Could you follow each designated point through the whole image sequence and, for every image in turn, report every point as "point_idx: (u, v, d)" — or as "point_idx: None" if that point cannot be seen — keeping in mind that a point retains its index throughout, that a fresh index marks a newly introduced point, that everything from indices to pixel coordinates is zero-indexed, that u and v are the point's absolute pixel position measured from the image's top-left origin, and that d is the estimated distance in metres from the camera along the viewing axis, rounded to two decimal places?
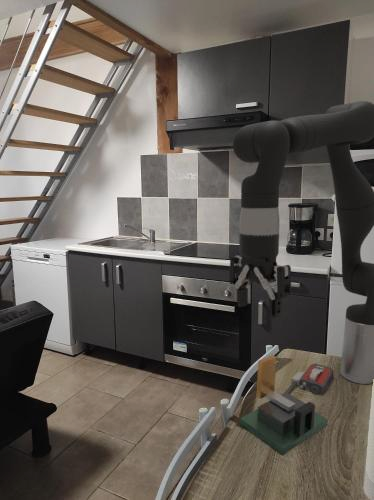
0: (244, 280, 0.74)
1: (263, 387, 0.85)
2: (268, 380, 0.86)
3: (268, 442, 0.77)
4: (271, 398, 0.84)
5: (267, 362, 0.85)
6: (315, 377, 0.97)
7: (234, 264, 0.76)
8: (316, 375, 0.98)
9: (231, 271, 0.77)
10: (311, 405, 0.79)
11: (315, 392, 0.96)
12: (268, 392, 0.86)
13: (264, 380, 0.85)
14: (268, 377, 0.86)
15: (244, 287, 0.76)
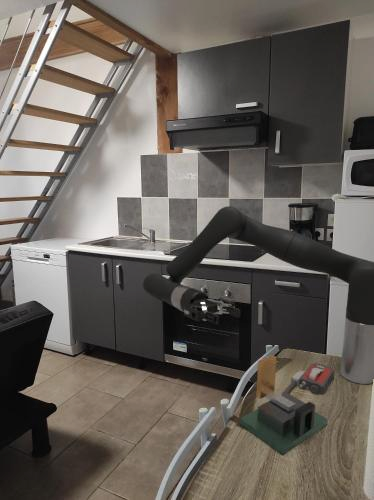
0: (220, 311, 1.01)
1: (263, 387, 0.85)
2: (268, 380, 0.86)
3: (268, 442, 0.77)
4: (271, 398, 0.84)
5: (267, 362, 0.85)
6: (315, 376, 0.98)
7: None
8: (316, 375, 0.98)
9: None
10: (311, 405, 0.79)
11: (314, 391, 0.96)
12: (268, 392, 0.86)
13: (264, 380, 0.85)
14: (268, 377, 0.86)
15: (228, 308, 1.00)
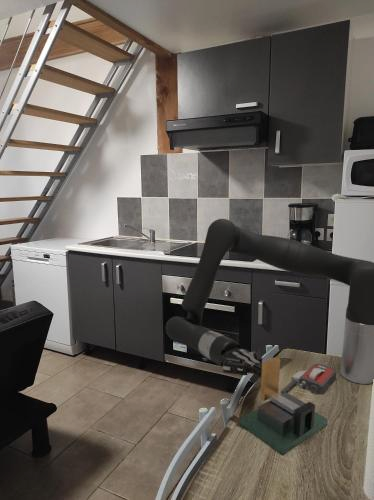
0: None
1: (267, 389, 0.84)
2: (272, 382, 0.85)
3: (268, 442, 0.77)
4: (275, 400, 0.83)
5: (271, 364, 0.84)
6: (315, 376, 0.98)
7: None
8: (316, 374, 0.98)
9: None
10: (311, 405, 0.79)
11: (314, 391, 0.96)
12: (272, 394, 0.85)
13: (268, 382, 0.84)
14: (271, 379, 0.85)
15: None
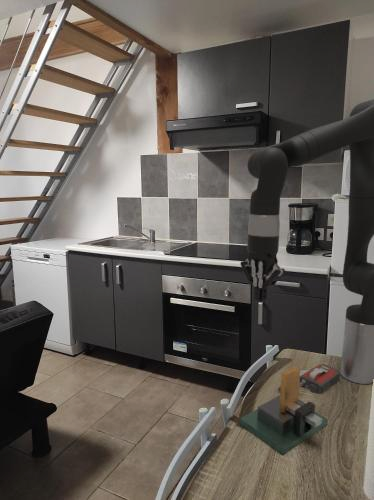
0: (257, 275, 0.91)
1: (287, 400, 0.80)
2: (292, 393, 0.81)
3: (268, 442, 0.77)
4: None
5: (291, 374, 0.80)
6: (315, 376, 0.98)
7: (245, 265, 0.94)
8: (316, 374, 0.98)
9: (246, 272, 0.94)
10: (311, 405, 0.79)
11: (313, 390, 0.97)
12: (292, 406, 0.81)
13: (288, 393, 0.80)
14: (291, 390, 0.81)
15: None
